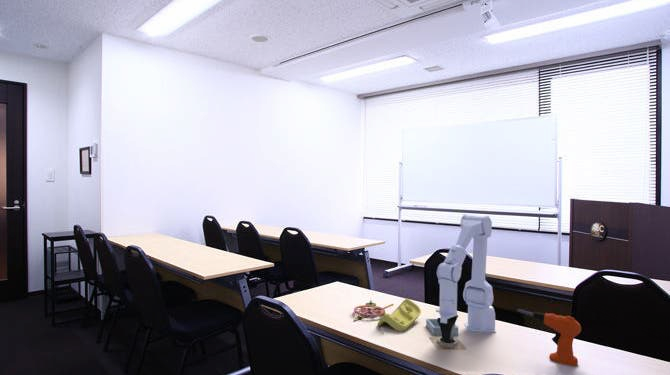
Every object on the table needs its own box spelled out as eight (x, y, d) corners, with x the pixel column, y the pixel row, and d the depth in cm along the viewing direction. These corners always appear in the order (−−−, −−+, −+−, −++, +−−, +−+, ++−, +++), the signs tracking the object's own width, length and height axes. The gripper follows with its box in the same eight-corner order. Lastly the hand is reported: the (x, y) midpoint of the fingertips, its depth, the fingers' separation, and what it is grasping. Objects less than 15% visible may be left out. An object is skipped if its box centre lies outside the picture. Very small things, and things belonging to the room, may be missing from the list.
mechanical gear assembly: (339, 318, 154) (370, 328, 145) (340, 307, 154) (370, 317, 145) (378, 302, 178) (407, 310, 168) (379, 293, 178) (407, 300, 168)
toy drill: (513, 342, 128) (519, 299, 127) (577, 365, 118) (585, 318, 117) (510, 346, 125) (517, 303, 124) (576, 370, 114) (585, 323, 113)
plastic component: (404, 328, 138) (382, 311, 142) (396, 343, 140) (375, 326, 145) (424, 310, 154) (404, 296, 159) (417, 324, 156) (397, 309, 161)
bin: (449, 326, 146) (449, 318, 146) (458, 336, 137) (458, 327, 137) (426, 326, 146) (426, 318, 146) (433, 335, 136) (433, 327, 136)
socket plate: (456, 338, 134) (456, 334, 134) (467, 350, 124) (467, 346, 124) (428, 338, 134) (428, 334, 134) (437, 350, 124) (437, 346, 124)
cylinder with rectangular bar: (444, 339, 132) (444, 319, 132) (455, 342, 129) (455, 322, 129) (439, 342, 129) (439, 322, 129) (450, 346, 126) (451, 325, 126)
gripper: (441, 291, 137) (440, 328, 137) (431, 301, 125) (430, 342, 125) (461, 294, 134) (460, 332, 134) (453, 305, 121) (452, 347, 121)
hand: (447, 337), depth 129 cm, fingers closed on cylinder with rectangular bar, 4 cm apart
